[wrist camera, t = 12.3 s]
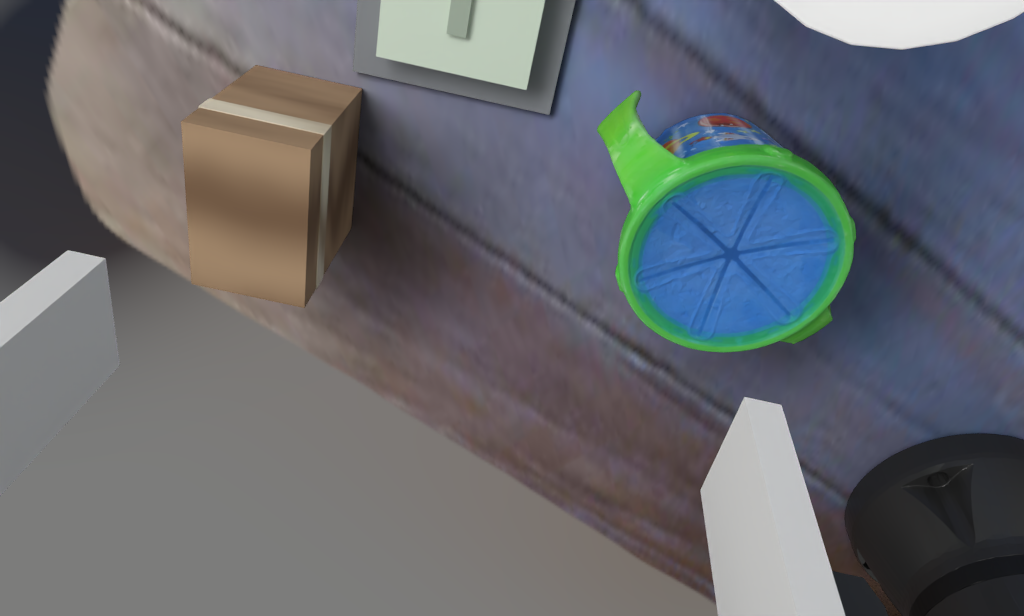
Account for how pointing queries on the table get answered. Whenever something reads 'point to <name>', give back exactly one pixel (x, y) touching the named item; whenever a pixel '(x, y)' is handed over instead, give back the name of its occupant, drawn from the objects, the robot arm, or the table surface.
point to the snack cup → (725, 232)
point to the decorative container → (901, 19)
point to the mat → (532, 99)
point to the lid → (463, 37)
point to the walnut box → (270, 183)
